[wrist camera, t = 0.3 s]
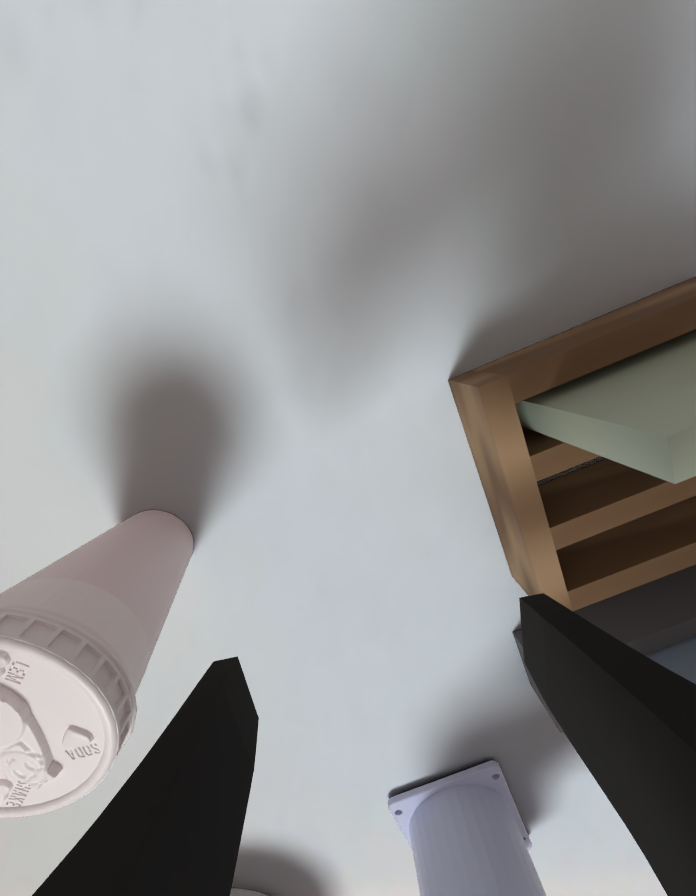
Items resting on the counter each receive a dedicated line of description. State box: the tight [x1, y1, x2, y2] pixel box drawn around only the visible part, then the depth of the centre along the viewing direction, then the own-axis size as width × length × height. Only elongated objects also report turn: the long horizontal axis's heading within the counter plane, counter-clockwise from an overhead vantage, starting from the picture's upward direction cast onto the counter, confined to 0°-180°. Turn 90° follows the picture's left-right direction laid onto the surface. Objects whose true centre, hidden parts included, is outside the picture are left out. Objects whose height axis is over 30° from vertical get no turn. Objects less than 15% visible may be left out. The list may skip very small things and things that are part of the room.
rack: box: [448, 277, 696, 611], centre depth 17 cm, size 12×12×4 cm
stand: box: [513, 564, 696, 732], centre depth 20 cm, size 4×12×3 cm, turn 112°
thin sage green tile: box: [515, 329, 696, 484], centre depth 13 cm, size 1×8×9 cm, turn 113°
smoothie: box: [0, 510, 194, 817], centre depth 12 cm, size 6×6×14 cm
